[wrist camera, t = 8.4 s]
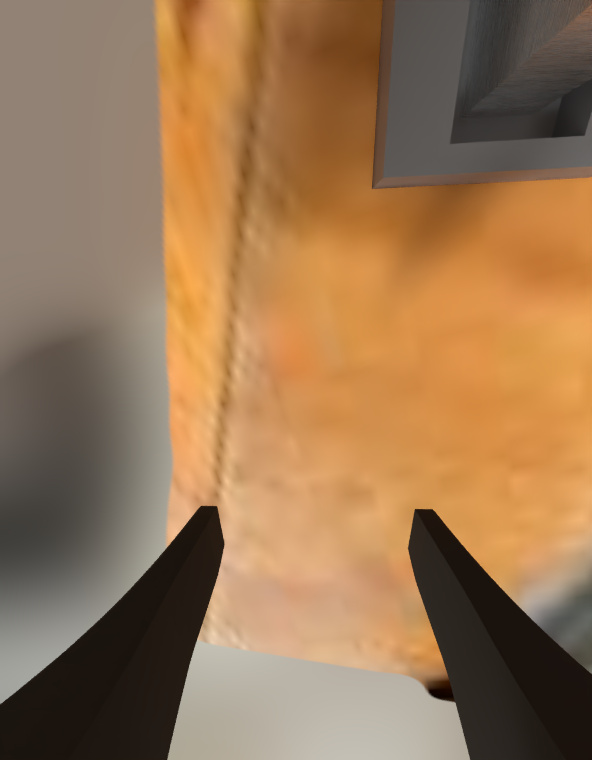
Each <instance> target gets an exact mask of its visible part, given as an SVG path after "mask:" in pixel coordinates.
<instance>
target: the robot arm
mask: <svg viewBox="0 0 592 760" xmlns="http://www.w3.org/2000/svg"><path fill="white" fill-rule="evenodd" d="M223 549H224V539H223V534H222V529H221V524H220V518H219V513H218V508H217V506H201V507H200V508H199V509H198V510H197V511H196V512H195V514H194V515H193V516H192V517H191V519H190V520H189V521H188V523H187V524H186V525H185V526H184V528H183V529H182V530H181V531H180V533H179V534H178V535H177V536H176V538H175V539H174V540H173V541H172V542H171V544H170V545H169V546H168V547H167V548H166V549H165V551H164V552H163V553H162V554H161V555H160V557H159V558H158V559H157V560H156V561H155V562H154V564H153V565H152V566H151V567H150V568H149V569H148V570H147V571H146V573H145V574H144V575H143V576H142V577H141V578H140V579H139V580H138V581H137V582H136V583H135V584H134V586H133V587H132V588H131V589H130V590H129V591H128V592H127V593H126V594H125V595H124V596H123V597H122V598H121V599H120V600H119V601H118V602H117V603H116V604H115V605H114V606H113V607H112V608H111V609H110V610H109V611H108V612H107V613H106V614H105V615H104V616H103V617H102V618H101V619H100V620H99V621H98V622H97V623H95V624H94V625H93V626H92V627H91V628H90V629H89V630H88V631H87V632H86V633H85V634H84V635H82V636H81V637H80V638H79V639H78V640H77V641H76V642H75V643H74V644H73V645H71V646H70V647H69V648H68V649H67V650H66V651H65V652H63V653H62V654H61V655H60V656H59V657H58V658H56V659H55V660H54V661H53V662H52V663H50V664H49V665H48V666H47V667H46V668H44V669H43V670H42V671H41V672H40V673H39V674H37V675H36V676H35V677H34V678H32V679H31V680H30V681H29V682H27V683H26V684H25V685H24V686H23V687H21V688H20V689H19V690H18V691H17V692H16V693H14V694H13V695H12V696H10V697H9V698H8V699H6V700H5V701H4V702H3V703H1V704H0V760H167V758H168V753H169V749H170V744H171V740H172V736H173V731H174V726H175V723H176V718H177V714H178V710H179V705H180V701H181V697H182V693H183V689H184V685H185V681H186V677H187V672H188V668H189V664H190V661H191V658H192V654H193V651H194V647H195V644H196V641H197V638H198V635H199V632H200V629H201V626H202V623H203V620H204V617H205V614H206V611H207V608H208V605H209V601H210V598H211V595H212V592H213V589H214V586H215V583H216V579H217V576H218V572H219V568H220V564H221V559H222V554H223ZM408 550H409V555H410V559H411V563H412V568H413V572H414V576H415V580H416V583H417V586H418V589H419V592H420V595H421V598H422V600H423V603H424V606H425V609H426V612H427V615H428V618H429V621H430V623H431V626H432V629H433V632H434V635H435V638H436V641H437V644H438V646H439V649H440V652H441V655H442V658H443V661H444V664H445V667H446V670H447V674H448V677H449V680H450V684H451V688H452V691H453V695H454V699H455V702H456V706H457V710H458V713H459V717H460V721H461V725H462V729H463V733H464V736H465V741H466V744H467V748H468V752H469V756H470V760H592V674H591V673H590V672H589V671H587V670H586V669H585V668H584V667H583V666H582V665H580V664H579V663H578V662H577V661H576V660H575V659H574V658H572V657H571V656H570V655H569V654H568V653H567V652H566V651H565V650H564V649H563V648H561V647H560V646H559V645H558V644H557V643H556V642H555V641H554V640H553V639H552V638H551V637H549V636H548V635H547V634H546V633H545V632H544V631H543V630H542V629H541V628H540V627H539V626H538V625H537V624H536V623H535V622H534V621H533V620H532V619H531V618H530V617H529V616H528V615H527V614H526V613H525V612H524V611H523V610H522V609H521V608H520V607H519V606H518V605H517V604H516V603H515V602H514V601H513V600H512V599H511V598H510V597H509V596H508V595H507V594H506V593H505V592H504V591H503V590H502V589H501V588H500V587H499V586H498V585H497V583H496V582H495V581H494V580H493V579H492V578H491V577H490V576H489V575H488V574H487V573H486V571H485V570H484V569H483V568H482V567H481V566H480V565H479V564H478V562H477V561H476V560H475V559H474V558H473V557H472V556H471V555H470V553H469V552H468V551H467V550H466V549H465V548H464V546H463V545H462V544H461V543H460V542H459V540H458V539H457V538H456V537H455V536H454V535H453V533H452V532H451V531H450V530H449V528H448V527H447V526H446V525H445V524H444V522H443V521H442V520H441V519H440V517H439V516H438V515H437V514H436V512H435V511H434V510H433V509H415V512H414V517H413V523H412V529H411V535H410V540H409V546H408Z"/></svg>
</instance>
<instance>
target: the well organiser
mask: <svg viewBox="0 0 592 760" xmlns="http://www.w3.org/2000/svg"><path fill="white" fill-rule="evenodd" d="M477 6H478V0H383V9H382V26H381V43H380V60H379V78H378V95H377V112H376V129H375V147H374V164H373V181H372V189H377V188H396V187H415V186H435V185H454V184H473V183H493V182H512V181H531V180H550V179H570V178H589V177H592V79H590V80H589V81H587V82H585V83H584V84H582V85H580V86H579V87H577V88H575V89H574V90H572V91H570V92H569V93H567V94H565V95H564V96H562V97H561V98H559V99H557V100H556V101H554V102H552V103H551V104H549V105H547V106H546V107H544V108H542V109H541V110H539V111H537V112H536V113H534V114H525V115H509V116H493V117H477V118H462V119H461V112H462V105H463V99H464V92H465V85H466V79H467V72H468V66H469V59H470V52H471V46H472V39H473V32H474V26H475V19H476V12H477Z"/></svg>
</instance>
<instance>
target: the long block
mask: <svg viewBox="0 0 592 760" xmlns="http://www.w3.org/2000/svg"><path fill="white" fill-rule="evenodd" d="M590 79H592V0H478V6H477V12H476V19H475V26H474V32H473V39H472V46H471V52H470V59H469V66H468V72H467V79H466V85H465V92H464V99H463V105H462V112H461V119H462V118H477V117H493V116H509V115H525V114H534V113H536V112H537V111H539V110H541V109H542V108H544V107H546V106H547V105H549V104H551V103H552V102H554V101H556V100H557V99H559V98H561V97H562V96H564V95H565V94H567V93H569V92H570V91H572V90H574V89H575V88H577V87H579V86H580V85H582V84H584V83H585V82H587V81H589V80H590Z"/></svg>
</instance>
